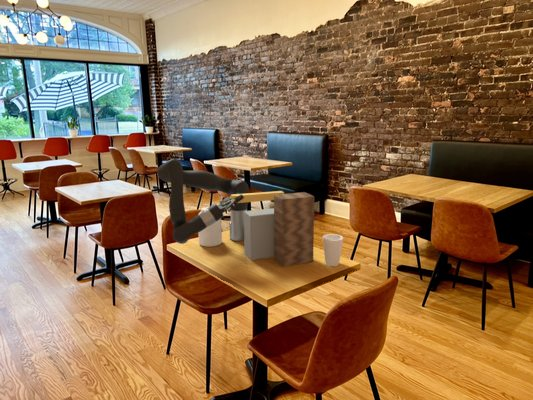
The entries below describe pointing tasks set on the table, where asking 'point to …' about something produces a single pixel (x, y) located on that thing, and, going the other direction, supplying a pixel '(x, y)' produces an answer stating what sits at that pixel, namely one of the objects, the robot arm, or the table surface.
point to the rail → (257, 196)
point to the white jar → (211, 233)
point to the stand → (293, 228)
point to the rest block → (259, 233)
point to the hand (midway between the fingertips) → (241, 195)
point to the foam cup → (332, 249)
